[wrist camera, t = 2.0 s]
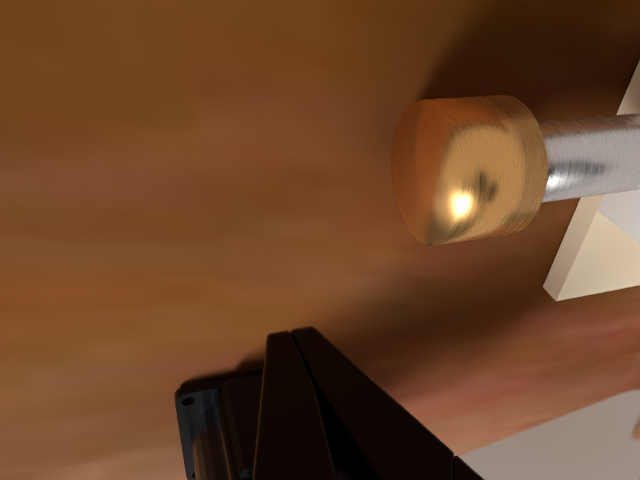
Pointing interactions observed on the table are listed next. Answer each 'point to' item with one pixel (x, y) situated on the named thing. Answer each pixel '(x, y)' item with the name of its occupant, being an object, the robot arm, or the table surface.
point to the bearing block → (601, 236)
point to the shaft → (502, 164)
